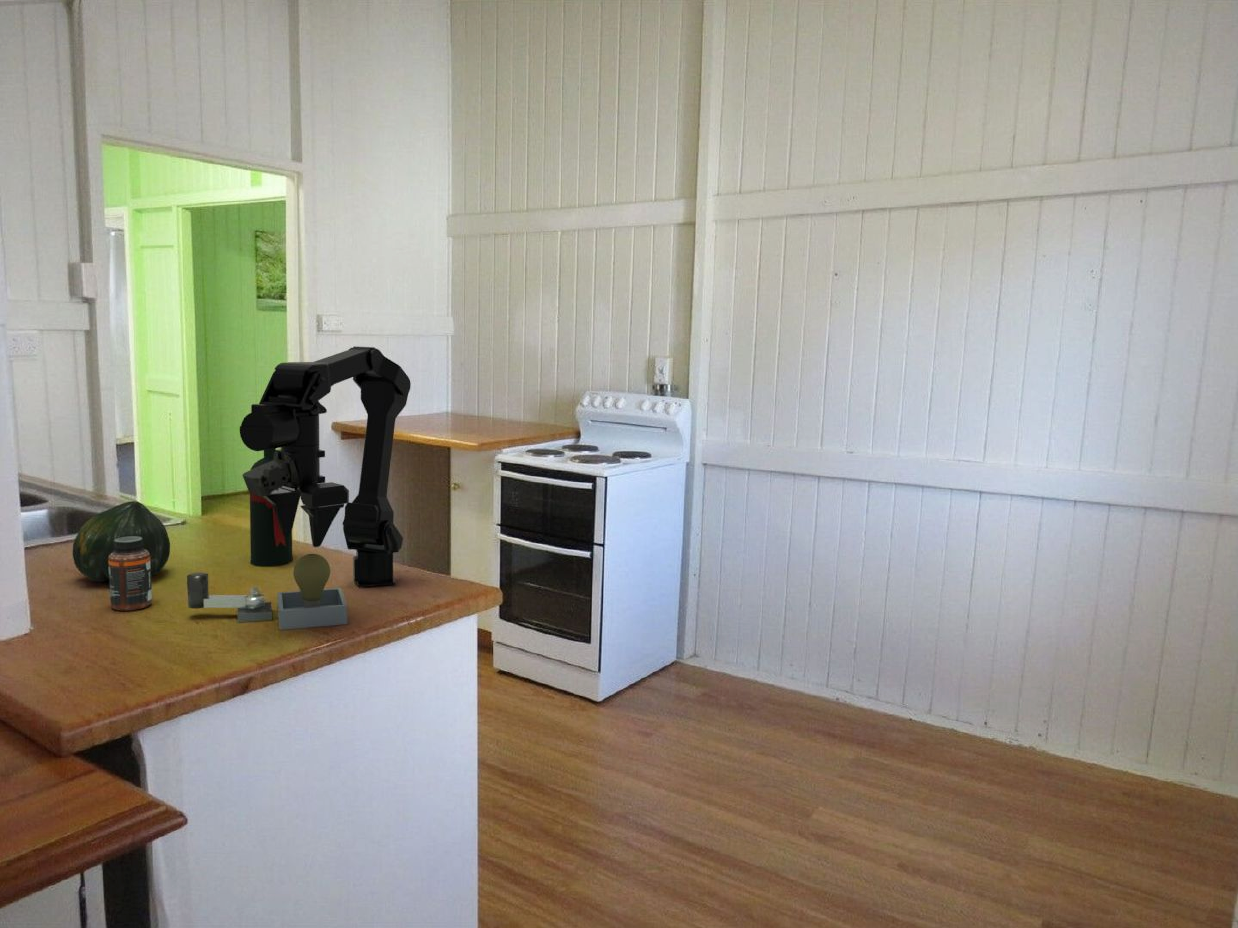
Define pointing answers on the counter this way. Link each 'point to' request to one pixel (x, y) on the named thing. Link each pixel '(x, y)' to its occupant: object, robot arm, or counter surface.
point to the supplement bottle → (130, 575)
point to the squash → (117, 523)
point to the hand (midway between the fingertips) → (301, 541)
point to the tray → (311, 610)
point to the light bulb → (311, 578)
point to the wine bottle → (267, 529)
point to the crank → (202, 599)
